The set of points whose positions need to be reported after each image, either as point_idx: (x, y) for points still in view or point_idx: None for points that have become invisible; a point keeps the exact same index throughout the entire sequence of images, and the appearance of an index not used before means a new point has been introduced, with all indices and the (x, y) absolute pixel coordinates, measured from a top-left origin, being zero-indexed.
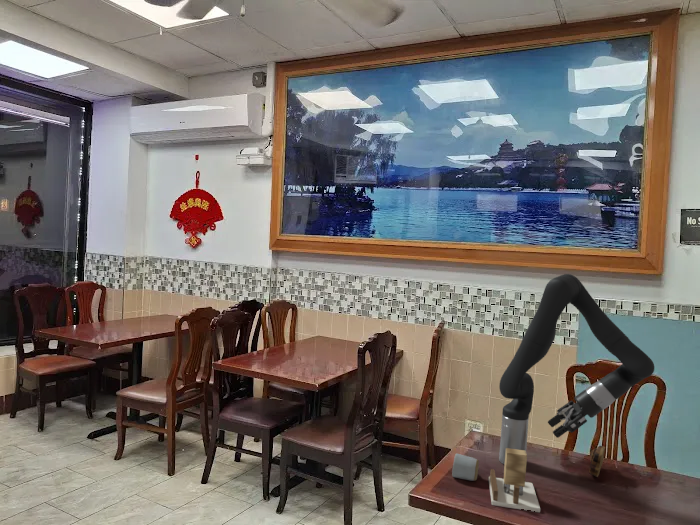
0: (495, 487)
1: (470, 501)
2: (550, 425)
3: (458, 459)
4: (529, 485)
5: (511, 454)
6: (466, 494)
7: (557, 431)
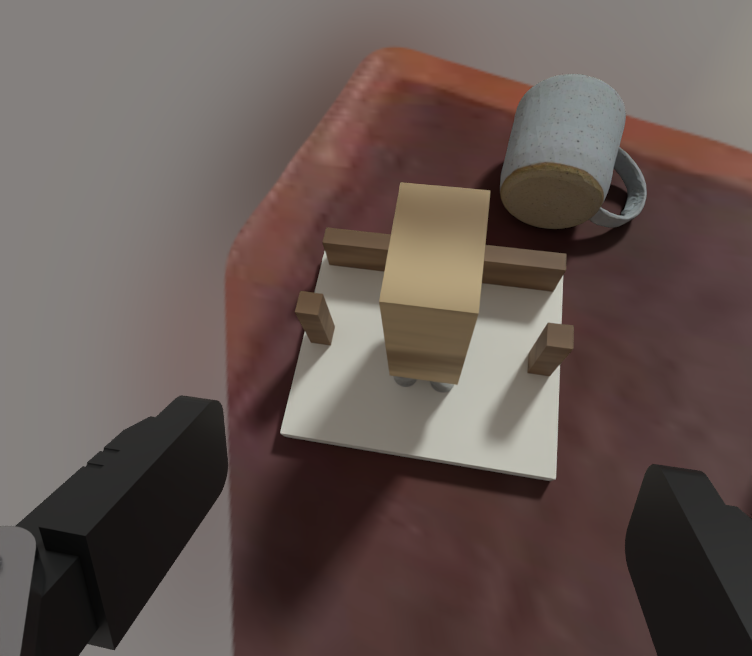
0: (357, 238)
1: (346, 187)
2: (632, 514)
3: (544, 92)
4: (519, 453)
5: (396, 212)
6: (399, 180)
7: (125, 444)
